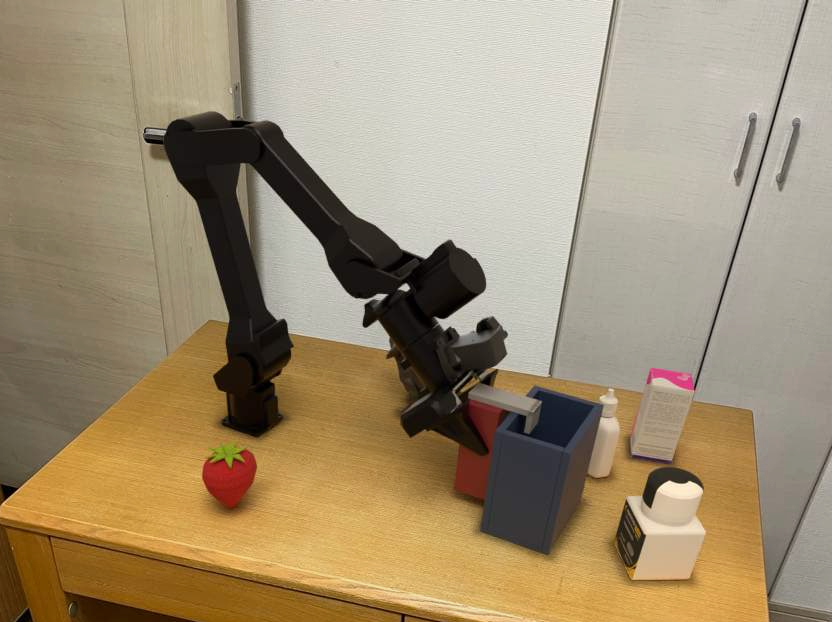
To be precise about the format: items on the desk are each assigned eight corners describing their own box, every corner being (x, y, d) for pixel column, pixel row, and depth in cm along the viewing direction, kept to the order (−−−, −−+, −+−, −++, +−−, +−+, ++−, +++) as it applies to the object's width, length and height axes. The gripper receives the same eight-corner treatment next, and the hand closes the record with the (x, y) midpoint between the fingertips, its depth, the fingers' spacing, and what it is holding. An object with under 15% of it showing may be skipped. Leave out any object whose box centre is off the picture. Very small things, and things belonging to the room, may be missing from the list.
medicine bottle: (612, 542, 98) (636, 459, 90) (668, 542, 98) (696, 459, 91) (630, 581, 92) (657, 496, 85) (689, 580, 93) (721, 496, 85)
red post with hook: (453, 489, 101) (465, 395, 93) (469, 470, 105) (481, 379, 97) (512, 510, 99) (530, 415, 90) (527, 490, 102) (545, 397, 94)
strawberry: (269, 497, 101) (266, 428, 95) (236, 530, 95) (230, 459, 89) (229, 484, 103) (223, 416, 96) (194, 515, 97) (185, 445, 91)
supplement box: (672, 464, 112) (695, 391, 105) (629, 458, 113) (650, 385, 106) (670, 443, 117) (692, 372, 110) (629, 437, 118) (648, 366, 110)
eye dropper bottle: (607, 459, 113) (627, 382, 105) (608, 481, 108) (629, 402, 101) (576, 454, 113) (593, 377, 105) (576, 476, 109) (594, 397, 101)
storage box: (479, 531, 98) (495, 430, 89) (517, 480, 107) (534, 385, 98) (548, 555, 95) (570, 453, 86) (580, 501, 104) (604, 404, 95)
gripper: (433, 331, 83) (517, 454, 86) (500, 277, 96) (571, 385, 99) (364, 380, 90) (444, 491, 93) (435, 323, 103) (503, 422, 107)
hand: (494, 444), depth 98 cm, fingers closed on red post with hook, 5 cm apart
